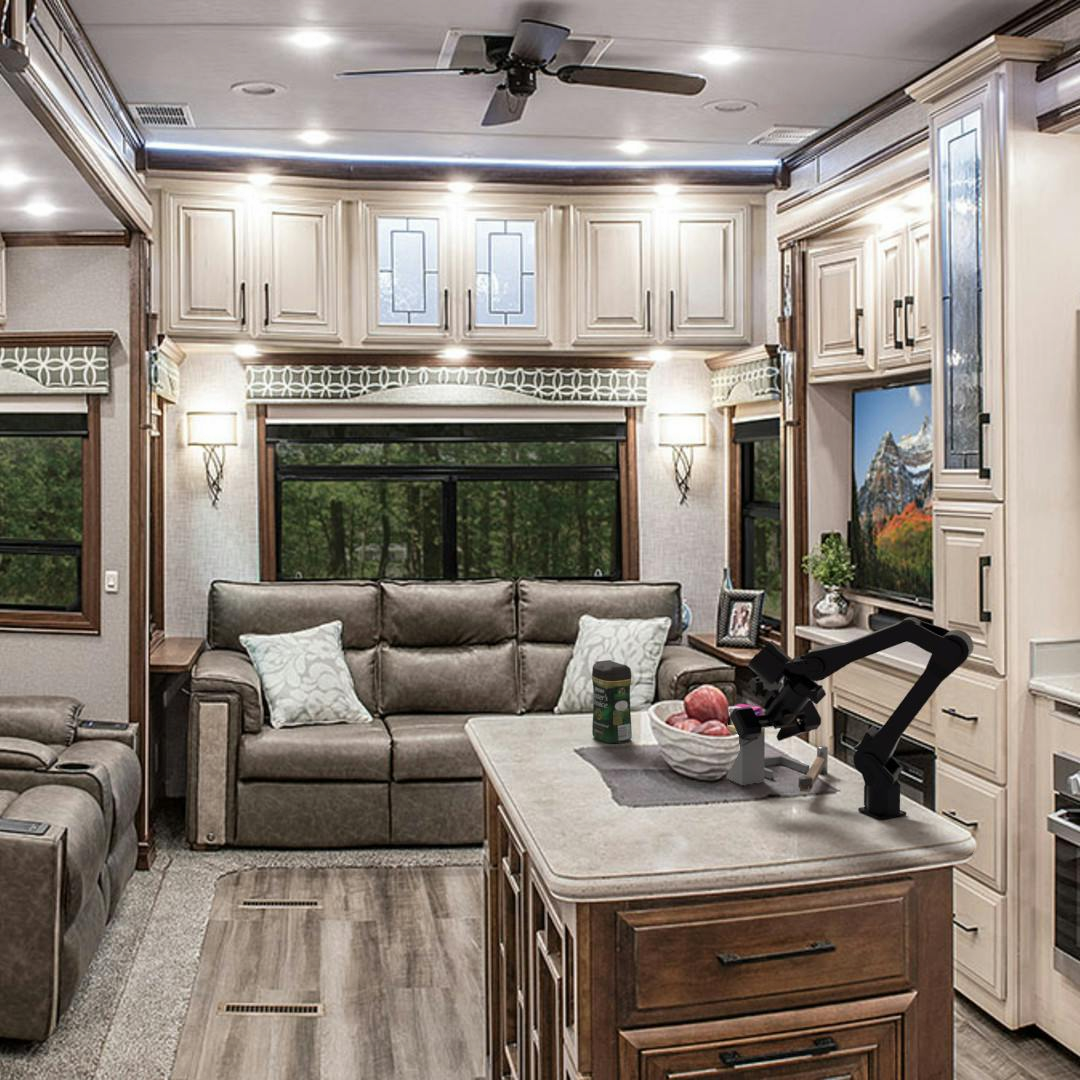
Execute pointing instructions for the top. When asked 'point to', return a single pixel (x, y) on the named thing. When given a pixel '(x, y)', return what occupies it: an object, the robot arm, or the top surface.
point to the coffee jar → (611, 702)
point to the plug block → (749, 761)
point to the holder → (783, 761)
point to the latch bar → (811, 774)
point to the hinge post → (823, 752)
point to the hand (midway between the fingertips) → (759, 741)
